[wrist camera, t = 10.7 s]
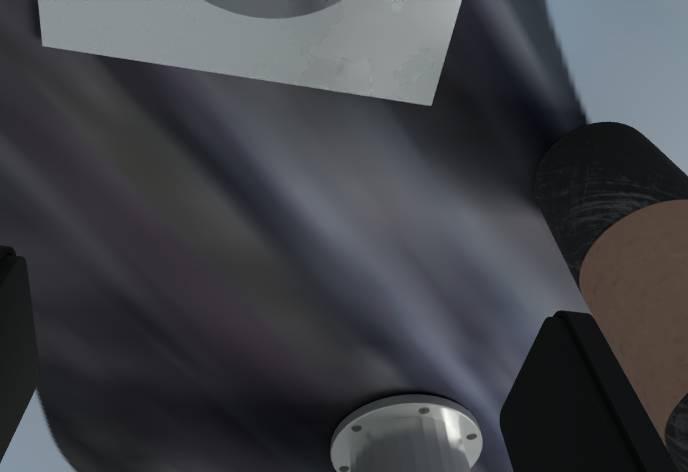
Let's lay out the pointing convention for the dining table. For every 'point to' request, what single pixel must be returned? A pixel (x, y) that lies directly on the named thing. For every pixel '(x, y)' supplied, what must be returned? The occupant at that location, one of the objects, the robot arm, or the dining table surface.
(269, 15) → the flange plate
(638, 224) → the travel mug
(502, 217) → the dining table surface
